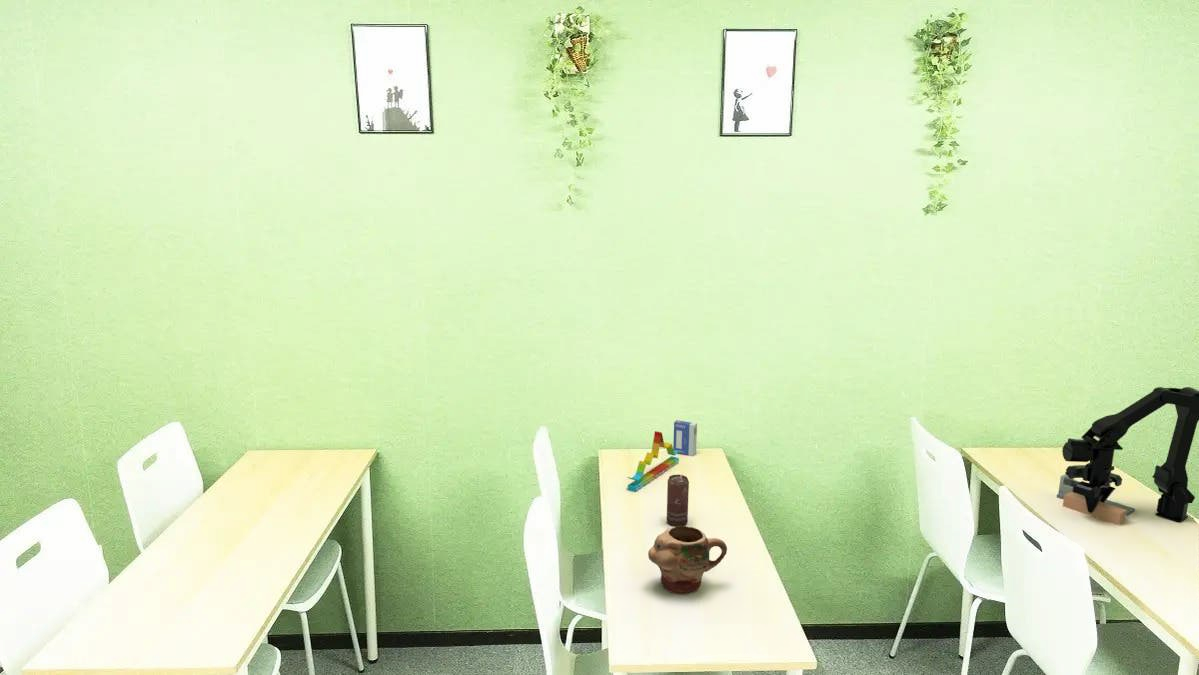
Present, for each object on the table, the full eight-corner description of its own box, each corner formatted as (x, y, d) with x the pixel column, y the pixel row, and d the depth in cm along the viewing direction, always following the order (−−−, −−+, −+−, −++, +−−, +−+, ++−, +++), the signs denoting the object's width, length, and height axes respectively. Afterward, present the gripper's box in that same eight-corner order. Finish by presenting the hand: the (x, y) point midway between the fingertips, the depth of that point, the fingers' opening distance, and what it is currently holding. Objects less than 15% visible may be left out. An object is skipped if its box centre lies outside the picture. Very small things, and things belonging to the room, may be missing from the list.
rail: (1124, 522, 241) (1126, 510, 240) (1118, 526, 238) (1120, 513, 238) (1068, 503, 253) (1070, 491, 253) (1062, 506, 251) (1064, 494, 250)
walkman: (673, 453, 293) (674, 421, 291) (675, 450, 296) (676, 419, 293) (693, 456, 290) (694, 424, 287) (696, 454, 292) (697, 422, 290)
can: (689, 519, 241) (690, 474, 237) (685, 528, 235) (687, 483, 231) (668, 516, 242) (670, 472, 239) (664, 525, 236) (666, 480, 233)
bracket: (1088, 495, 257) (1091, 477, 256) (1078, 500, 253) (1080, 482, 252) (1069, 488, 262) (1071, 471, 261) (1058, 493, 258) (1060, 476, 257)
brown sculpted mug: (715, 568, 212) (717, 518, 209) (733, 591, 201) (736, 540, 198) (641, 576, 208) (642, 526, 205) (656, 601, 196) (657, 549, 193)
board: (1135, 511, 248) (1135, 508, 248) (1121, 518, 243) (1122, 516, 243) (1070, 490, 263) (1070, 488, 263) (1056, 496, 258) (1056, 494, 258)
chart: (636, 493, 259) (636, 448, 256) (627, 490, 261) (628, 446, 258) (679, 463, 284) (680, 422, 281) (671, 461, 286) (672, 420, 283)
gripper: (1087, 447, 254) (1080, 494, 257) (1057, 460, 243) (1051, 508, 247) (1126, 458, 245) (1118, 506, 249) (1097, 472, 234) (1089, 522, 238)
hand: (1093, 510), depth 246 cm, fingers closed on rail, 4 cm apart
